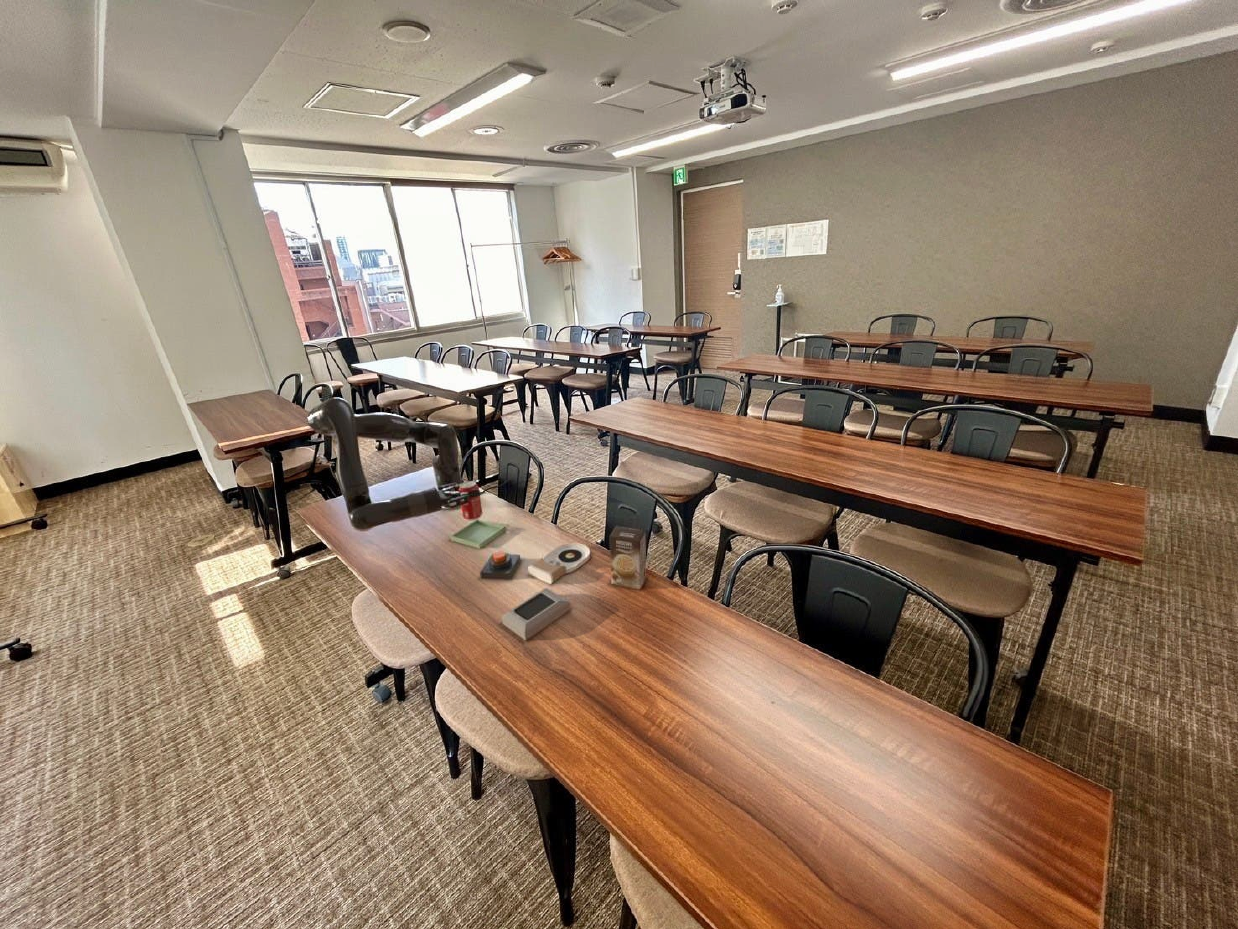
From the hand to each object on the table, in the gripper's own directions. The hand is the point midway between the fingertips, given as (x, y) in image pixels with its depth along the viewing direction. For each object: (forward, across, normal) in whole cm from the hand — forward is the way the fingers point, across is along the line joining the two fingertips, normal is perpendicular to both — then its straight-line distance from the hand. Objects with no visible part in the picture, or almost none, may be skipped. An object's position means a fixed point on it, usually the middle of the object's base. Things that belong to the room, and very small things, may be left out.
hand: (475, 488), depth 155 cm
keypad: (-2, -46, +20) cm, 50 cm away
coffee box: (+26, -48, +20) cm, 58 cm away
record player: (+15, -28, +20) cm, 38 cm away
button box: (-2, -20, +20) cm, 28 cm away
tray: (0, +5, +20) cm, 20 cm away
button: (-2, -20, +16) cm, 25 cm away
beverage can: (-2, 0, +10) cm, 10 cm away
